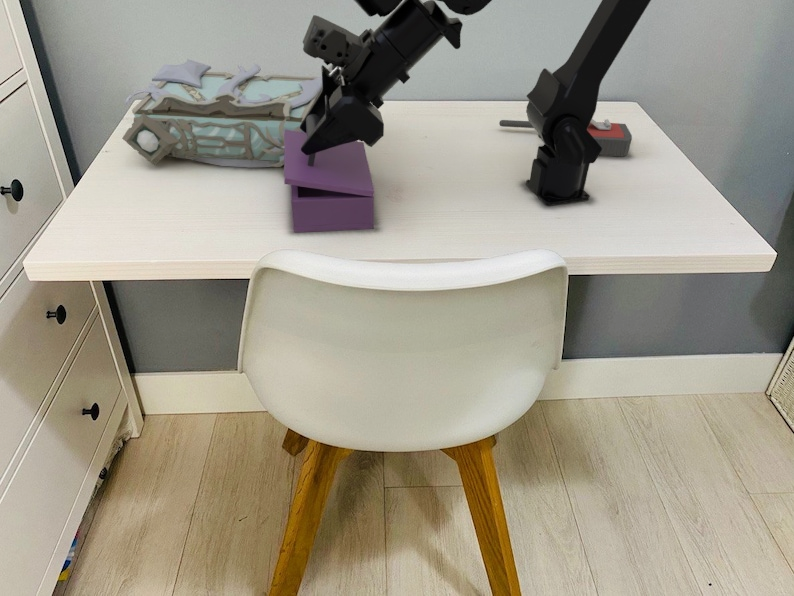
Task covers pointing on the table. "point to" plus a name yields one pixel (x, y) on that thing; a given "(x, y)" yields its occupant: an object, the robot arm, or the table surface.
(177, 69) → the ornate book
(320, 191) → the box
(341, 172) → the lid
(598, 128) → the walkie-talkie
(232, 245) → the table surface
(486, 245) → the table surface
